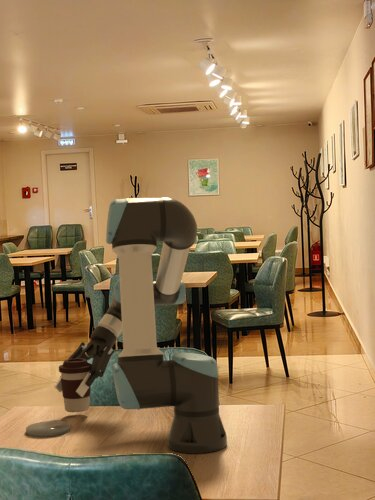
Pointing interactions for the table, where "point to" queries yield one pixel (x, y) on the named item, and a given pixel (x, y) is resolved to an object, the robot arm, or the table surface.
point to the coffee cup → (74, 384)
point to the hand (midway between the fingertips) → (68, 391)
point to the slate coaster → (47, 429)
